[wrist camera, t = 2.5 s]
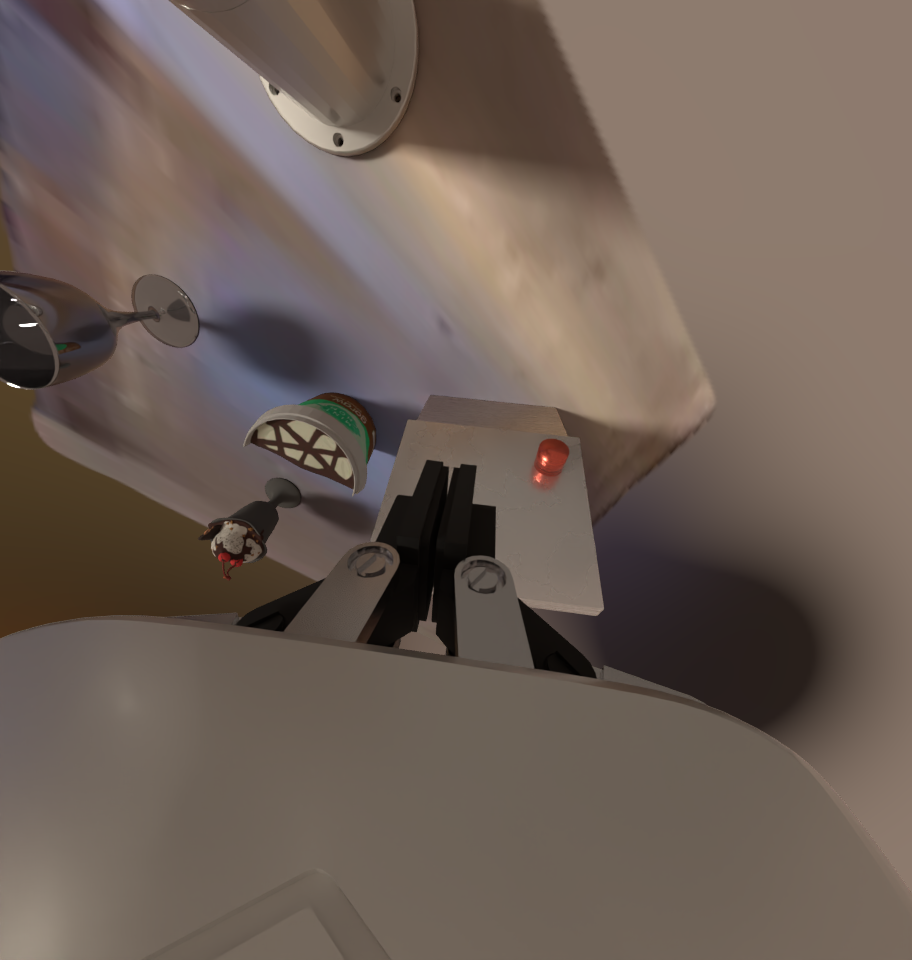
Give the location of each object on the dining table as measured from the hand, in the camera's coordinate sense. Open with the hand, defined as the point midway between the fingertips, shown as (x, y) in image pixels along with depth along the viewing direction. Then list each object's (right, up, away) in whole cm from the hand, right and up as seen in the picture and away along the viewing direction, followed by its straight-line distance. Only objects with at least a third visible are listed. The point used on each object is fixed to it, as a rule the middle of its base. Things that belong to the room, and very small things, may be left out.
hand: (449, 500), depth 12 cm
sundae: (-24, -1, +37) cm, 44 cm away
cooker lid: (+2, -4, +12) cm, 13 cm away
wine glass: (-31, +19, +26) cm, 45 cm away
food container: (-13, +9, +30) cm, 34 cm away
